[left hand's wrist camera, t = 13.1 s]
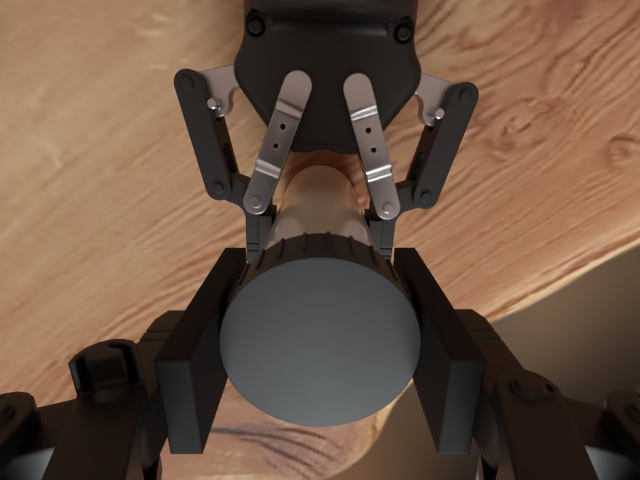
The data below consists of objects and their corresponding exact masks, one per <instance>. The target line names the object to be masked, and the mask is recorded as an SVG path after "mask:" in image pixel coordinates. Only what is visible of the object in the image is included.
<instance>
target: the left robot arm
mask: <svg viewBox="0 0 640 480" xmlns="http://www.w3.org/2000/svg"><path fill="white" fill-rule="evenodd" d="M246 264H247V260H246V248H225V250H224V251H223V253H222V254H221V256H220V257H219V259H218V260H217V262H216V264H215V265H214V267H213V268H212V270H211V271H210V273H209V274H208V276H207V277H206V279H205V281H204V282H203V284H202V285H201V287H200V288H199V290H198V291H197V293H196V295H195V296H194V298H193V299H192V301H191V302H190V304H189V305H188V307H187V308H186V310H168V311H167V312H166V313H164V314H163V315H161V316H160V317H158V318H157V319H155V320H154V321H153V323H152V324H151V325H150V327H149V328H148V329H147V332H146V333H144V335H143V336H142V337H141V339H140V342H138V343H137V344H135V343H134V342H133V341H131V340H126V339H110V340H106V341H102V342H98V343H96V344H93V345H91V346H89V347H87V348H85V349H83V350H82V351H80V352H79V353H77V354H76V355H75V356H74V357H73V358H72V359H71V360H70V362H69V363H68V365H69V368H70V372H71V375H72V379H73V382H74V386H75V389H76V393H77V397H76V399H73V400H69V401H65V402H61V403H56V404H52V405H47V406H43V407H38V408H37V405H36V402H35V399H34V397H33V396H31V395H30V394H29V393H25V392H11V393H5V394H1V395H0V480H161V476H162V464H161V458H160V452H161V450H162V448H163V446H164V444H165V441H166V439H167V437H168V442H169V447H170V452H171V454H203V451H204V448H205V445H206V442H207V439H208V436H209V433H210V430H211V427H212V424H213V421H214V418H215V415H216V412H217V409H218V406H219V403H220V400H221V397H222V394H223V391H224V388H225V385H226V382H227V379H228V376H227V373H226V371H225V369H224V366H223V363H222V360H221V355H220V346H219V332H220V327H221V322H222V319H223V316H224V314H225V311H226V309H227V306H228V304H226V301H227V299H228V297H229V295H230V293H231V291H232V289H233V286H234V284H235V282H236V280H238V281H239V279H240V277H241V275H242V272H243V270H244V268H245V266H246ZM393 267H394V269H395V271H396V272H397V274H398V276H399V275H402V277H403V279H404V281H405V284H406V286H407V288H408V290H409V292H410V294H411V296H412V298H411V300H412V302H413V304H414V306H415V308H416V310H417V313H418V315H419V318H418V320H419V324H420V330H421V348H420V357H419V361H418V365H417V368H416V370H415V372H414V374H413V377H412V378H413V381H414V384H415V387H416V390H417V393H418V396H419V399H420V402H421V405H422V408H423V411H424V414H425V417H426V420H427V423H428V426H429V429H430V432H431V435H432V438H433V441H434V444H435V447H436V450H437V453H438V454H469V453H470V448H471V443H472V438H473V437H474V439H475V441H476V443H477V445H478V448H479V450H480V452H481V453H480V458H479V463H478V468H477V473H476V478H475V480H640V393H639V392H633V391H627V390H619V391H612V392H611V393H610V394H609V395H607V397H606V400H605V403H604V406H600V405H596V404H591V403H587V402H582V401H578V400H573V399H570V398H566V397H564V396H563V394H562V393H561V392H560V390H559V389H558V387H557V386H556V385H555V384H553V383H552V382H551V381H549V380H548V379H547V378H545V377H543V376H541V375H539V374H537V373H535V372H531V371H528V370H525V369H524V368H523V367H522V366H521V364H520V363H519V362H518V360H517V359H516V358H515V356H514V355H513V354H512V352H511V351H510V350H509V348H508V347H507V346H506V345H505V343H504V342H503V341H502V340H501V338H500V337H499V335H498V334H497V333H496V332H495V331H494V329H493V328H492V326H491V325H490V324H489V322H488V321H487V320H486V318H484V317H483V316H481V315H480V314H478V313H477V312H475V311H474V310H472V309H454V308H453V307H452V305H451V303H450V302H449V300H448V299H447V297H446V296H445V294H444V293H443V291H442V290H441V288H440V286H439V285H438V283H437V282H436V280H435V279H434V277H433V276H432V274H431V272H430V271H429V269H428V268H427V266H426V265H425V263H424V262H423V260H422V259H421V257H420V255H419V254H418V252H417V251H416V249H415V248H395V250H394V263H393Z"/></svg>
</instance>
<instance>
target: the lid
mask: <svg viewBox="0 0 640 480" xmlns="http://www.w3.org/2000/svg"><path fill="white" fill-rule="evenodd" d="M411 298H412V296H411V294H410V292H409V290H408V288H407V286H406V284H405V281H404V279H403V277H402V275H399V276H398V274H397V272H396V271H395V269H394V267H393V265H392V263H391V261H390V259H389V258H387V259H385V258H384V257H383V256H382V255H381V254H380V253H378V252H377V251H376V250H375V249H374V246H372V245H370V246H368V245H366V244H364V243H362V242H360V241H358V240H355V239H354V238H353V236H349V237H346V236H342V235H337V234H330V231H327V233H312V234H307V232H303V235H299V236H295V237H291V238H288V239H284V238H282V239H281V240H280V242H278V243H276V244H274V245H273V246H271V247H269V248H268V249H266V250H265V249H264V248H263V249H262V250H261V252H260V254H259V255H258V256H257V257H256V258H255V259H254V260H253V261H252V262H251V263H250V264H249V263H247V264H246V266H245V268H244V270H243V272H242V275H241V277H240V279H239V281H238V280H236V282H235V284H234V286H233V289H232V291H231V293H230V295H229V297H228V299H227V301H226V304H228V306H227V309H226V311H225V314H224V316H223V319H222V322H221V327H220V332H219V346H220V355H221V360H222V363H223V366H224V369H225V371H226V373H227V376H228V377H229V379H230V381H231V382H232V384H233V385H234V387H235V388H236V389H237V390H238V392H239V393H240V394H241V395H242V396H243V397H244V398H245V399H246V400H247V401H248V402H250V403H251V404H252V405H254V406H255V407H256V408H258V409H259V410H261V411H263V412H265V413H266V414H268V415H270V416H273V417H275V418H277V419H280V420H283V421H286V422H289V423H294V424H298V425H305V426H324V427H326V426H336V425H342V424H347V423H351V422H354V421H358V420H361V419H363V418H365V417H368V416H370V415H372V414H374V413H376V412H378V411H379V410H381V409H383V408H384V407H385V406H387V405H388V404H389V403H391V402H392V401H393V400H394V399H395V398H396V397H397V396H398V395H399V394H400V393H401V392H402V391H403V390H404V388H405V387H406V386H407V385H408V383H409V381H410V380H411V378H412V377H413V374H414V372H415V370H416V368H417V365H418V361H419V357H420V348H421V330H420V324H419V320H418V318H419V315H418V313H417V310H416V308H415V306H414V304H413V302H412V300H411Z"/></svg>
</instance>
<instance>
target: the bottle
mask: <svg viewBox="0 0 640 480" xmlns="http://www.w3.org/2000/svg"><path fill="white" fill-rule="evenodd" d="M327 231H330V234H337V235H342V236H346V237H349V236H353V238H354V239H355V240H358V241H360V242H362V243H364V244H366V245H368V246H370V245H372V246H374V249H375V250H376V251H377V248H376V246H375V243H374V241H373V238H372V235H371V233H370V230H369V228H368V225H367V222H366V220H365V217H364V215H363V212H362V209H361V207H360V204H359V202H358V199H357V196H356V194H355V191H354V189H353V186H352V184H351V182H350V181H349V179H348V178H347V177H346V176H345V175H344V174H343V173H342V172H340V171H339V170H337V169H335V168H333V167H329V166H324V165H316V166H311V167H308V168H305V169H303V170H301V171H300V172H298V173H297V174H296V175H295V176H294V177H293V178H292V179H291V181H290V182H289V184H288V186H287V189H286V191H285V194H284V197H283V199H282V202H281V204H280V207H279V210H278V212H277V215H276V218H275V220H274V223H273V225H272V228H271V231H270V233H269V236H268V238H267V241H266V244H265V246H264V249H265V250H266V249H268V248H269V247H271V246H273V245H274V244H276V243H278V242H280V240H281V239H282V238H284V239H288V238H291V237H295V236H299V235H303V232H307V234H312V233H327ZM377 252H378V251H377Z"/></svg>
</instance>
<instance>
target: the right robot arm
mask: <svg viewBox="0 0 640 480" xmlns="http://www.w3.org/2000/svg"><path fill="white" fill-rule="evenodd" d="M417 8H418V0H244V36H243V41H242V44H241V47H240V49H239V51H238V53H237V55H236V57H235V61H234V64H233V65H228V66H224V67H219V68H215V69H210V70H206V71H201V72H199V71H195V70H191V69H182V70H180V71H178V72H177V73H176V75H175V77H174V86H175V90H176V93H177V96H178V99H179V103H180V106H181V109H182V112H183V116H184V119H185V122H186V125H187V129H188V132H189V135H190V139H191V142H192V145H193V148H194V152H195V155H196V158H197V161H198V165H199V168H200V171H201V174H202V178H203V181H204V184H205V187H206V191H207V193H208V195H209V196H210V197H211V198H213V199H215V200H227V201H229V202H232V203H234V204H237V205H238V206H240V207H241V208H242V209H243V211H244V213H245V216H246V242H247V261H248V263H249V264H250V263H251V262H252V261H253V260H254V259H255V258H256V257H257V256H258V255H259V254H260V252H261V250H262V249H263V248H264V246H265V244H266V241H267V238H268V236H269V233H270V231H271V228H272V225H273V223H274V220H275V218H276V215H277V205H273V194H274V192H275V189H276V186H277V184H278V181H279V179H280V176H281V173H282V171H283V168H284V166H285V163H286V161H287V158H288V156H289V153H290V151H291V149H292V152H312V151H316V150H320V149H328V150H331V151H334V152H337V153H340V154H357V157H358V160H359V164H360V167H361V169H362V173H363V176H364V179H365V183H366V187H367V190H368V194H369V197H370V204H369V209H365V212H364V217H365V220H366V222H367V225H368V228H369V230H370V233H371V235H372V238H373V241H374V243H375V246H376V248H377V251H378V253H380V254H381V255H382V256H383V257H384V258H385V259H387V258H389V259H390V261H391V255H392V247H393V238H394V229H395V222H396V220H397V218H398V217H399V216H400V215H401V214H402V213H403V212H405V211H408V210H412V209H415V208H418V207H419V208H421V209H428V208H431V207H432V206H434V205H435V204H436V202H437V200H438V198H439V195H440V193H441V190H442V188H443V185H444V183H445V180H446V178H447V175H448V173H449V170H450V168H451V165H452V163H453V160H454V158H455V155H456V153H457V150H458V148H459V145H460V143H461V140H462V138H463V135H464V133H465V130H466V128H467V125H468V123H469V120H470V118H471V116H472V113H473V111H474V108H475V106H476V103H477V101H478V97H479V93H478V89H477V87H476V86H475V85H474V84H472V83H470V82H458V83H452V82H449V81H446V80H442V79H439V78H436V77H433V76H430V75H427V74H424V73H421V66H420V63H419V61H418V58H417V55H416V52H415V46H414V34H415V26H416V17H417ZM239 87H240V88H241V89H242V91H243V92H244V94H245V95H246V97H247V98H248V100H249V101H250V102H251V104H252V105H253V107H254V108H255V110H256V111H257V113H258V114H259V116H260V117H261V119H262V120H263V121H264V123H265V124H266V126H267V127H268V129H267V132H266V135H265V137H264V140H263V143H262V146H261V149H260V151H259V154H258V157H257V160H256V164H255V169H254V172H253V174H252V177H251V178H250V177H247V176H245V175H242V174H240V173H239V170H238V166H237V162H236V159H235V155H234V151H233V148H232V144H231V140H230V137H229V133H228V129H227V125H226V122H225V118H224V116H226V115H228V114H230V112H231V111H232V109H233V94H234V92H235V91H236V90H237V89H238V88H239ZM413 95H414V96H415V97H416V98H417V100H418V103H419V109H418V118H419V120H420V122H421V123H423V124H424V125H425V127H424V130H423V133H422V135H421V138H420V141H419V144H418V146H417V149H416V152H415V155H414V157H413V160H412V163H411V166H410V168H409V171H408V174H407V177H406V179H405V180H404V181H401V182H398V183H394V179H393V175H392V166H391V162H390V158H389V154H388V150H387V146H386V142H385V138H384V134H383V131H384V130H385V129H386V128H387V126H388V125H389V124H390V123H391V121H392V120H393V119H394V118H395V117H396V115H397V114H398V113H399V112H400V110H401V109H402V108H403V107H404V106H405V104H406V103H407V102H408V101H409V99H410V98H411V97H412V96H413Z"/></svg>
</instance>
